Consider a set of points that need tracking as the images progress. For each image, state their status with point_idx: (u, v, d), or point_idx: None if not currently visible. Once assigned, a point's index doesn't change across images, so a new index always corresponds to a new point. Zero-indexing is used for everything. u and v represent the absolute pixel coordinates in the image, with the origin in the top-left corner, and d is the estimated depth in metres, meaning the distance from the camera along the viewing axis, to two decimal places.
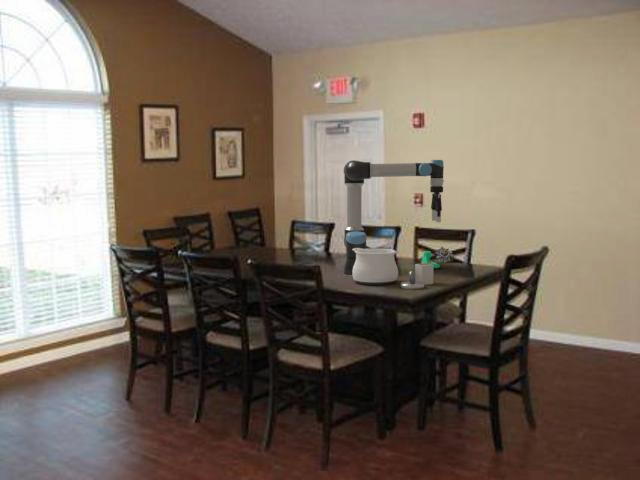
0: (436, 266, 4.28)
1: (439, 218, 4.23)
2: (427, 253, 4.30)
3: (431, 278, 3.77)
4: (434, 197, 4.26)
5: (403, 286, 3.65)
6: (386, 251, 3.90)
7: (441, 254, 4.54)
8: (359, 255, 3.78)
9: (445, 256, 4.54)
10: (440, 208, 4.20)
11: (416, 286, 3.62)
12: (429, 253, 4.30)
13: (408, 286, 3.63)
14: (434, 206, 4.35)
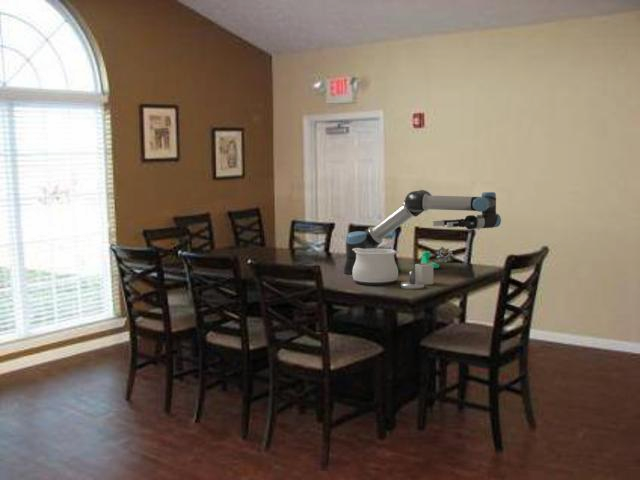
0: (435, 266, 4.28)
1: (451, 226, 3.75)
2: (426, 253, 4.30)
3: (431, 278, 3.77)
4: (465, 219, 3.84)
5: (403, 286, 3.65)
6: (386, 251, 3.90)
7: (441, 254, 4.54)
8: (359, 255, 3.78)
9: (445, 256, 4.54)
10: (464, 225, 3.75)
11: (416, 286, 3.62)
12: (428, 253, 4.30)
13: (408, 286, 3.63)
14: (448, 222, 3.89)
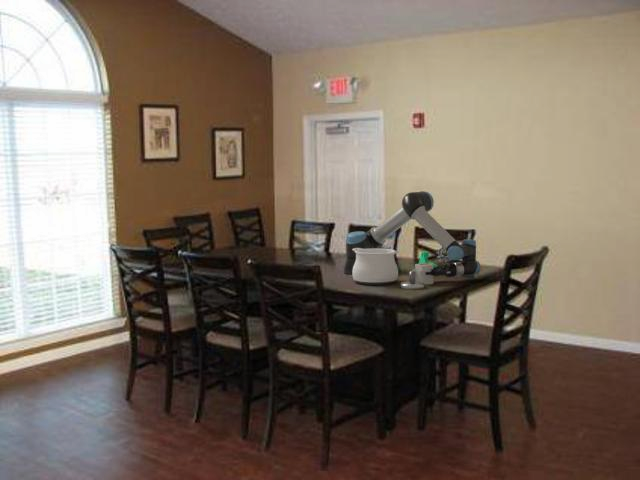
0: (434, 266, 4.27)
1: (423, 274, 3.74)
2: (425, 253, 4.30)
3: (431, 278, 3.77)
4: (444, 268, 3.80)
5: (403, 286, 3.65)
6: (386, 251, 3.90)
7: (442, 254, 4.54)
8: (359, 255, 3.78)
9: (446, 256, 4.54)
10: (436, 274, 3.73)
11: (416, 286, 3.62)
12: (427, 253, 4.30)
13: (408, 286, 3.63)
14: None
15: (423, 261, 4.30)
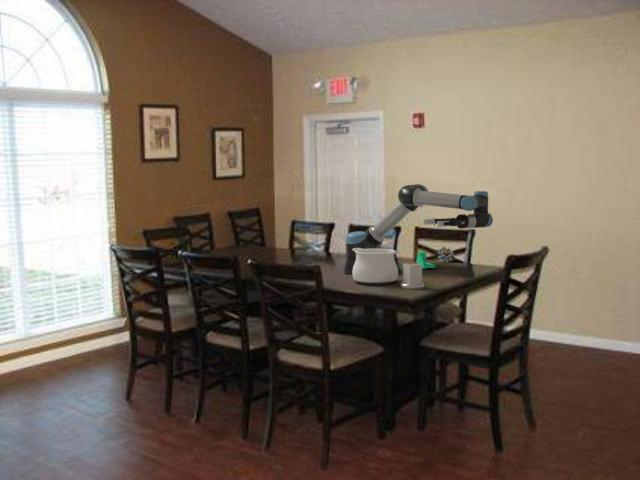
0: (432, 266, 4.27)
1: (441, 224, 3.68)
2: (422, 253, 4.29)
3: (420, 278, 3.65)
4: (456, 218, 3.77)
5: (403, 286, 3.65)
6: (386, 251, 3.90)
7: (443, 254, 4.54)
8: (359, 255, 3.78)
9: (447, 256, 4.54)
10: (454, 224, 3.68)
11: (416, 286, 3.62)
12: (424, 253, 4.30)
13: (408, 286, 3.63)
14: (439, 221, 3.82)
15: (420, 261, 4.29)
